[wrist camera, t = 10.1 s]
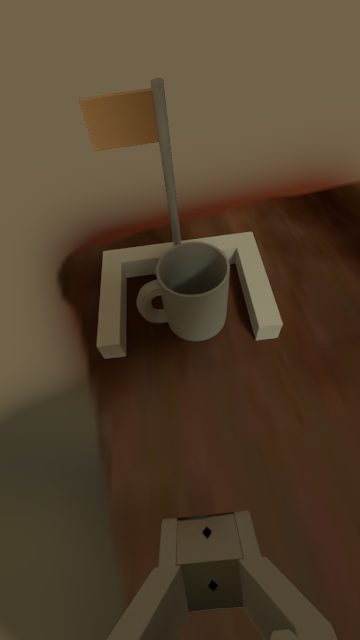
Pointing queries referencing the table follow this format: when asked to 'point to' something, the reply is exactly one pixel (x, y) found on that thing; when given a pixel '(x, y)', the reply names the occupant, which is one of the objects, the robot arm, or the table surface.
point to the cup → (189, 291)
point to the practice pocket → (149, 127)
